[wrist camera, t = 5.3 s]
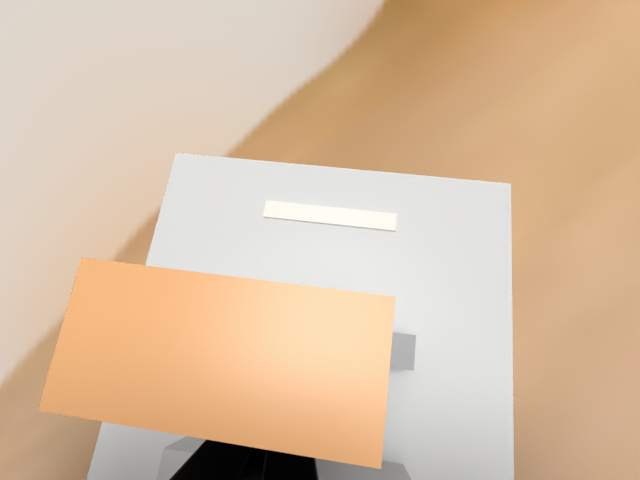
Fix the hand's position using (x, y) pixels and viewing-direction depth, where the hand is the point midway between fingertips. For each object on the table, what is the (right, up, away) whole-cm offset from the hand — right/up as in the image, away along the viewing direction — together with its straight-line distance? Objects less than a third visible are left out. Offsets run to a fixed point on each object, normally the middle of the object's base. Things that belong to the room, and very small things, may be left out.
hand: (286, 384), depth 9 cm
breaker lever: (0, 0, +5) cm, 5 cm away
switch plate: (+1, -1, +8) cm, 8 cm away
